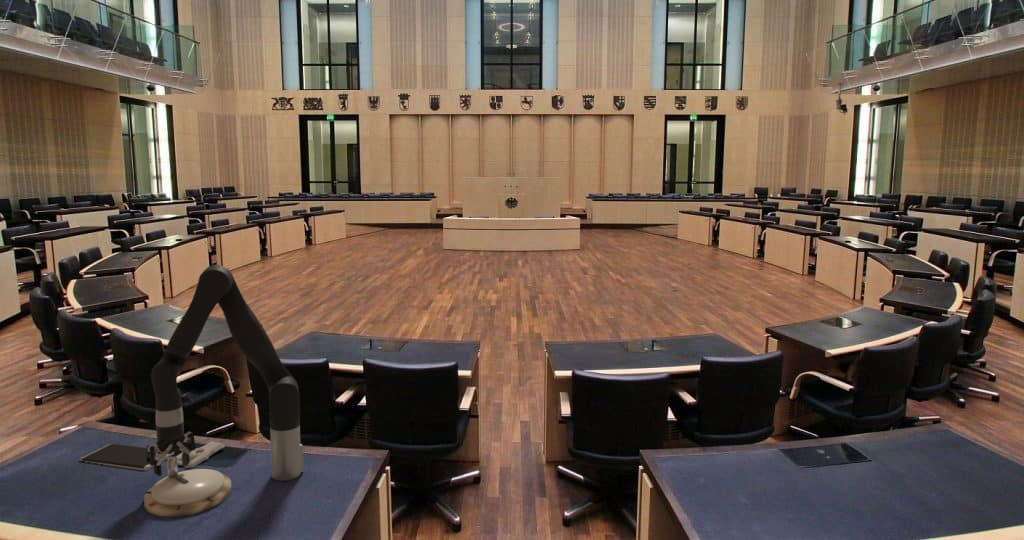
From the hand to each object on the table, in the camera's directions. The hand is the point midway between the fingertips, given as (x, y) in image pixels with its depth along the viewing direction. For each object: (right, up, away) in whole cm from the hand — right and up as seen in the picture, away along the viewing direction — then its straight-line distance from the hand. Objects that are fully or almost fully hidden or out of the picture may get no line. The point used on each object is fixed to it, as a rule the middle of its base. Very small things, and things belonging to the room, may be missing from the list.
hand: (172, 470), depth 197 cm
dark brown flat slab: (-27, -3, +21) cm, 34 cm away
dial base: (+7, -7, -3) cm, 10 cm away
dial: (+7, -5, -4) cm, 9 cm away
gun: (-3, -3, +22) cm, 23 cm away
